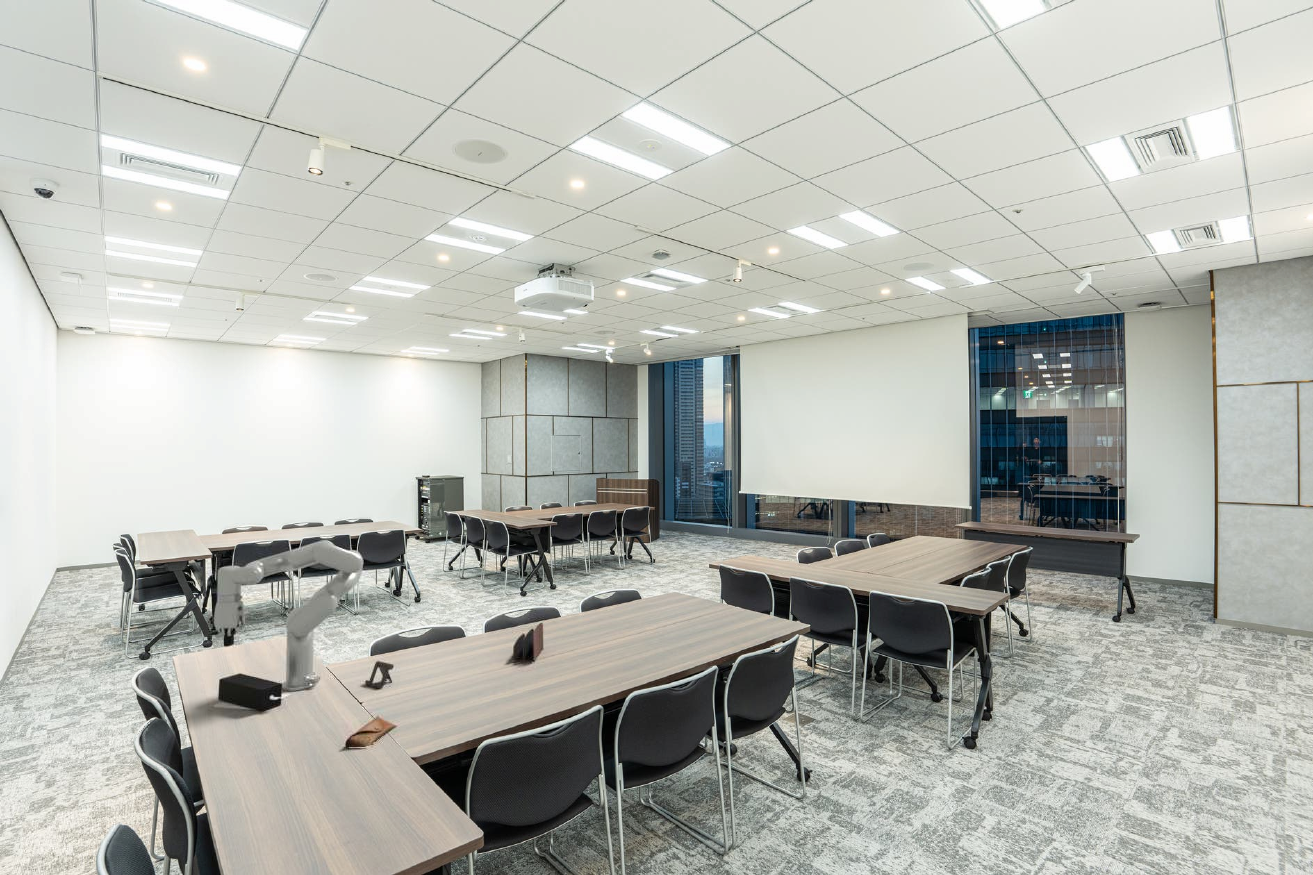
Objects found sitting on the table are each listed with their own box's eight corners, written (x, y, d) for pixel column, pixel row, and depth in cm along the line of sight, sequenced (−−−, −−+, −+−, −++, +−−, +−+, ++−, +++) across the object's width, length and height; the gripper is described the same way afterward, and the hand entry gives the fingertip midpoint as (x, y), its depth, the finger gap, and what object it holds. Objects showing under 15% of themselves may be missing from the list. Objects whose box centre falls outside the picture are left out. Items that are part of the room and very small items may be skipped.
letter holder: (543, 649, 298) (543, 620, 299) (534, 663, 278) (534, 631, 279) (523, 649, 299) (523, 620, 299) (512, 663, 279) (512, 631, 279)
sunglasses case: (370, 749, 196) (360, 730, 197) (351, 759, 197) (342, 741, 197) (398, 724, 214) (389, 707, 215) (382, 734, 215) (373, 717, 215)
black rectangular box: (238, 693, 241) (287, 705, 230) (217, 699, 234) (266, 713, 223) (239, 672, 241) (288, 684, 230) (218, 678, 234) (267, 691, 223)
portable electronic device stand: (364, 685, 251) (365, 665, 251) (381, 679, 258) (381, 659, 258) (379, 689, 247) (379, 668, 247) (395, 683, 254) (396, 662, 254)
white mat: (290, 695, 241) (290, 694, 241) (262, 710, 227) (262, 708, 227) (244, 692, 243) (244, 691, 243) (214, 706, 230) (214, 705, 230)
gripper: (253, 596, 243) (253, 643, 242) (220, 595, 245) (220, 641, 244) (238, 601, 235) (237, 649, 235) (204, 599, 237) (203, 647, 237)
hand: (228, 645), depth 240 cm, fingers closed
